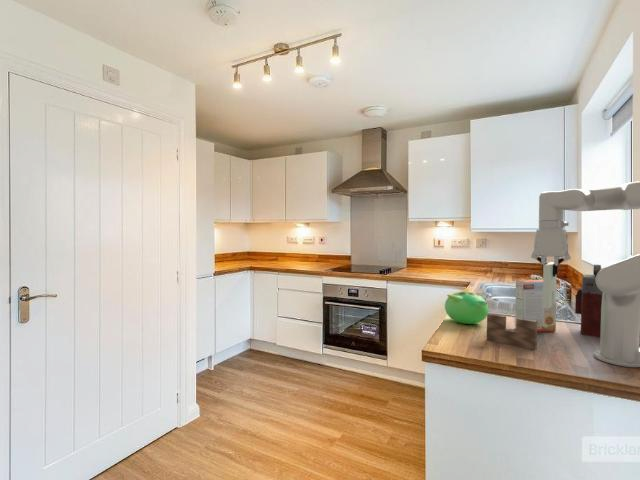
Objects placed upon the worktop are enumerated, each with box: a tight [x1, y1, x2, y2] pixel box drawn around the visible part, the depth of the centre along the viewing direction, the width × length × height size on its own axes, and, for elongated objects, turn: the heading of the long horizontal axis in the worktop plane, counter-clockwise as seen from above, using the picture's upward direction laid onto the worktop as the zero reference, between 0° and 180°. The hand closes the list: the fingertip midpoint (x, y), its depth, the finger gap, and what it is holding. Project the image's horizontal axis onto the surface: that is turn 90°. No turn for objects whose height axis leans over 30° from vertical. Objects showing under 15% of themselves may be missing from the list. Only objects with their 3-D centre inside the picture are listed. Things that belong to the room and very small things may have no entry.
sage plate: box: [542, 261, 557, 308], centre depth 126 cm, size 2×14×15 cm, turn 138°
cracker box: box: [515, 279, 557, 333], centre depth 144 cm, size 14×6×21 cm, turn 92°
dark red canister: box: [574, 264, 603, 338], centre depth 139 cm, size 9×11×28 cm
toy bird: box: [444, 289, 489, 325], centre depth 154 cm, size 18×17×15 cm
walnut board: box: [486, 312, 538, 351], centre depth 127 cm, size 16×2×10 cm, turn 48°
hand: (550, 275), depth 126 cm, fingers closed on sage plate, 2 cm apart
